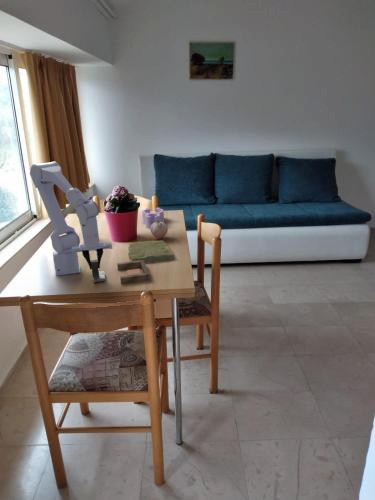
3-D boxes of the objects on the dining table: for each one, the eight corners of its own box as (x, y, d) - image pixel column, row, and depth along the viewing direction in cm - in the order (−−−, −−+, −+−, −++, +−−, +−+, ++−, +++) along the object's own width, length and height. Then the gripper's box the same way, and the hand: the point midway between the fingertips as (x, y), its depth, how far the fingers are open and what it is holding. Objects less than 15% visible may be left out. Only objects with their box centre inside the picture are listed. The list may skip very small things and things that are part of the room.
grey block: (93, 282, 140) (91, 265, 138) (92, 274, 148) (90, 257, 145) (105, 280, 141) (103, 263, 139) (104, 272, 149) (102, 256, 146)
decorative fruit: (170, 240, 185) (170, 221, 182) (155, 243, 182) (154, 223, 179) (163, 235, 193) (162, 216, 190) (149, 237, 190) (147, 218, 186)
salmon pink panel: (128, 278, 145) (128, 275, 145) (127, 273, 150) (126, 270, 149) (141, 276, 147) (141, 273, 146) (139, 272, 151) (139, 268, 151)
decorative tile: (164, 245, 180) (163, 238, 179) (173, 260, 162) (173, 253, 160) (125, 250, 176) (124, 243, 174) (130, 266, 157) (130, 258, 156)
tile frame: (121, 284, 140) (120, 278, 139) (117, 268, 154) (117, 263, 153) (150, 280, 143) (149, 274, 142) (144, 265, 156) (143, 260, 155)
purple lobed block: (164, 228, 205) (164, 216, 202) (142, 229, 204) (141, 217, 201) (163, 218, 223) (163, 207, 221) (143, 219, 223) (142, 208, 220)
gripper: (70, 239, 133) (75, 274, 138) (111, 235, 136) (114, 269, 141) (70, 234, 139) (75, 267, 144) (109, 229, 143) (113, 262, 147)
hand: (94, 267), depth 143 cm, fingers closed on grey block, 2 cm apart
